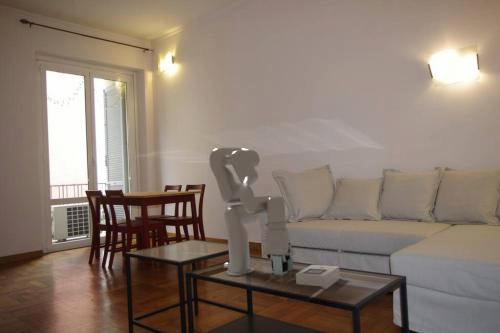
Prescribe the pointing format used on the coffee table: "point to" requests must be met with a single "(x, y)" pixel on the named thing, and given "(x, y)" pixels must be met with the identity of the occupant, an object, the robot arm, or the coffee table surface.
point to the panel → (318, 276)
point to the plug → (278, 265)
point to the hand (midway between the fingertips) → (280, 270)
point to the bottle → (290, 264)
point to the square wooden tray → (281, 278)
